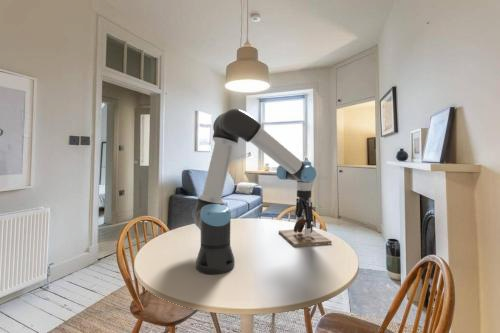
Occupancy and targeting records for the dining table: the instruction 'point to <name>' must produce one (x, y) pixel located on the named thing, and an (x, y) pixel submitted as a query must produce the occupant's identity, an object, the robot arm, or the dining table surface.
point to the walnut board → (303, 238)
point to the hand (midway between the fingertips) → (303, 231)
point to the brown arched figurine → (301, 226)
